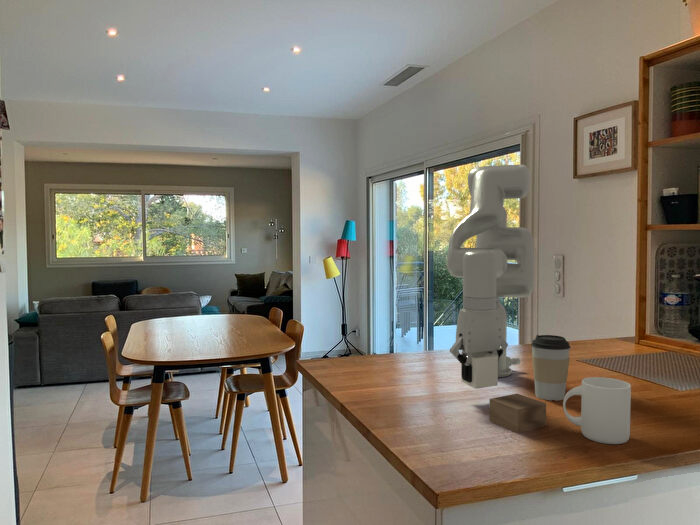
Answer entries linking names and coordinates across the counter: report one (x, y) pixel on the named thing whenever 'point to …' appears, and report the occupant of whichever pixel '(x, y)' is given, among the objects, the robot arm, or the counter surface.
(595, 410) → the mug
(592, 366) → the counter surface
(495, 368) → the cream block
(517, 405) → the walnut block
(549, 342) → the coffee cup
